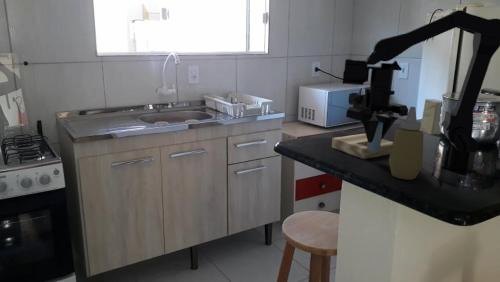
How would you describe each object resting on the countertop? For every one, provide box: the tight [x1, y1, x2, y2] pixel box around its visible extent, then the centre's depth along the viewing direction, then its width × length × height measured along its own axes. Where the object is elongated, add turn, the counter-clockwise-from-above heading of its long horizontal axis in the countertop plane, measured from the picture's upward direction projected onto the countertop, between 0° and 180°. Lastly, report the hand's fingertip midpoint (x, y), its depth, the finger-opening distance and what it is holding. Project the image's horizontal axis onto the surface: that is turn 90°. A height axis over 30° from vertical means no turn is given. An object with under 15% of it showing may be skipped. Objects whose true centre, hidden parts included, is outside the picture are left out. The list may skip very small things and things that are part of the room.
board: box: [331, 133, 393, 160], centre depth 129 cm, size 14×14×3 cm
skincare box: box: [419, 98, 443, 136], centre depth 153 cm, size 6×4×12 cm
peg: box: [367, 122, 383, 152], centre depth 117 cm, size 4×4×8 cm
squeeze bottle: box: [388, 106, 424, 181], centre depth 104 cm, size 8×8×18 cm
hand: (374, 141), depth 117 cm, fingers closed on peg, 3 cm apart
